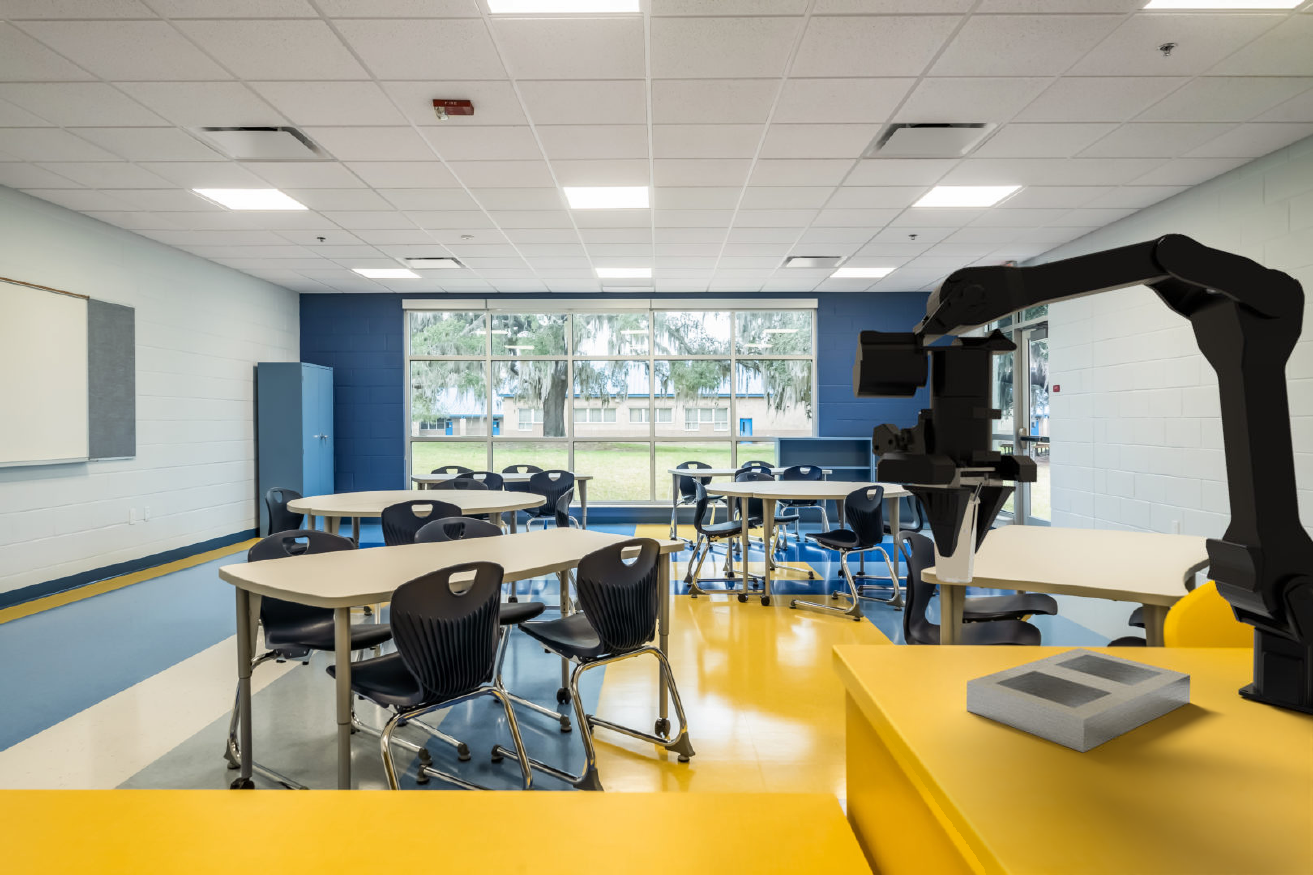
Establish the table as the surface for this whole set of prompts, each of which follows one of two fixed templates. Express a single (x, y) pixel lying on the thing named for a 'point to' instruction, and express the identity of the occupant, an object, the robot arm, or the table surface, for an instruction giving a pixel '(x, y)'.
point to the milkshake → (961, 547)
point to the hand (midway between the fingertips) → (958, 555)
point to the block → (1078, 696)
